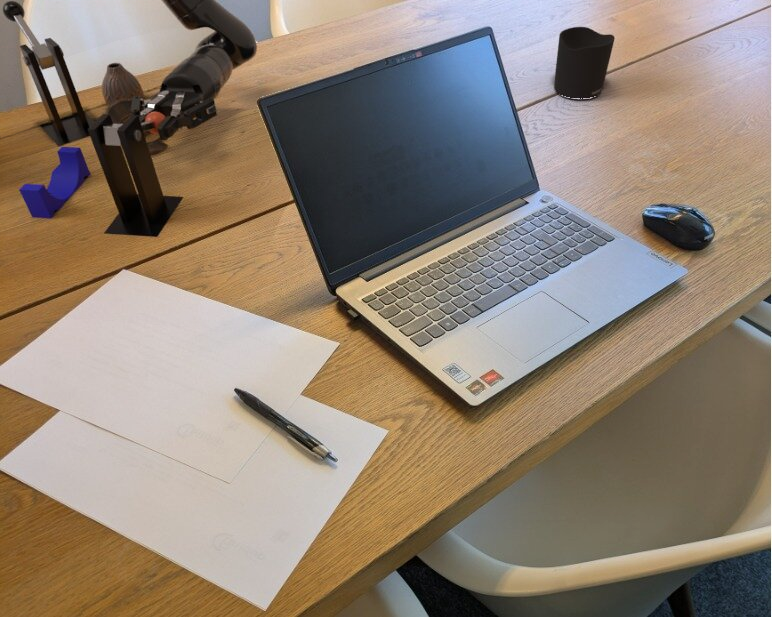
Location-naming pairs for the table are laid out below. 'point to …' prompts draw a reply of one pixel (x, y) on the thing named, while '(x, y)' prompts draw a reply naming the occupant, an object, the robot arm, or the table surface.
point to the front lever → (150, 124)
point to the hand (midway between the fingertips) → (149, 133)
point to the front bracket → (135, 210)
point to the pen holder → (582, 62)
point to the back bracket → (57, 128)
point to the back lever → (29, 34)
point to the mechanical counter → (122, 112)
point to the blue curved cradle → (57, 184)
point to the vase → (120, 84)
